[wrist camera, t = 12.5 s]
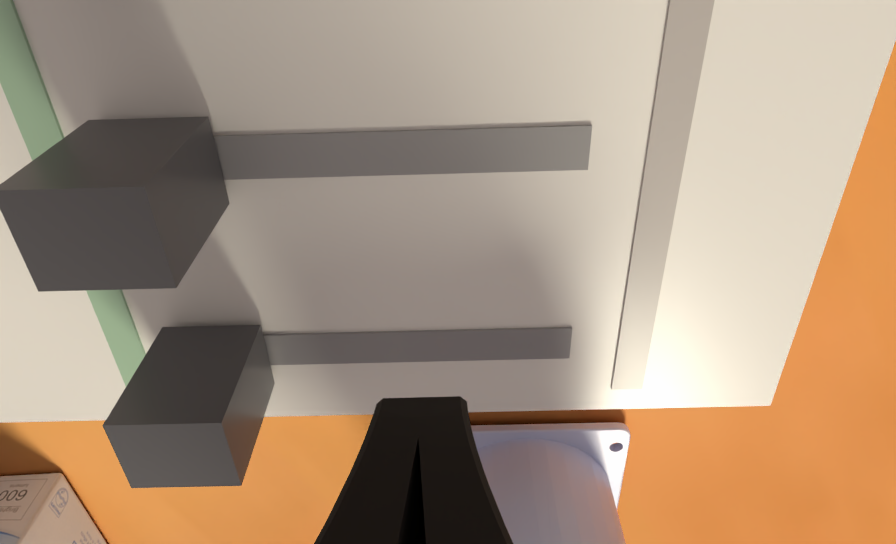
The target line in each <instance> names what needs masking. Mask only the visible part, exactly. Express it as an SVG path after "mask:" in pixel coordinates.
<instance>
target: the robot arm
mask: <svg viewBox="0 0 896 544" xmlns="http://www.w3.org/2000/svg"><path fill="white" fill-rule="evenodd" d="M629 442H630V432H629V429H628V427H627V426H626V425H625V424H623V423H619V422H606V423H560V424H513V425H471V424H470V419H469V414H468V406H467V401H466V400H464V399H463V398H462V397H460V396H453V397H413V398H383V399H382V400H380V401H379V402H378V403H377V404H376V407H375V411H374V414H373V417H372V420H371V423H370V426H369V429H368V431H367V434H366V437H365V439H364V442H363V444H362V447H361V449H360V451H359V454H358V456H357V458H356V461H355V463H354V465H353V467H352V470H351V472H350V474H349V476H348V478H347V480H346V482H345V484H344V487H343V489H342V491H341V493H340V495H339V497H338V499H337V501H336V503H335V505H334V507H333V509H332V511H331V513H330V515H329V517H328V519H327V521H326V523H325V525H324V527H323V529H322V530H321V532H320V534H319V536H318V537H317V539H316V541H315V543H314V544H626V543H625V539H624V535H623V532H622V528H621V524H620V520H619V516H618V512H617V507H618V502H619V497H620V491H621V486H622V480H623V475H624V469H625V464H626V458H627V453H628V447H629ZM613 443H616V444H613Z"/></svg>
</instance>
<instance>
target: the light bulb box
mask: <svg viewBox="0 0 896 544" xmlns="http://www.w3.org/2000/svg"><path fill="white" fill-rule="evenodd" d="M0 544H107V543H106V542H105V540H104V538H103V537H102V535H101V534H100V532H99V530H98V529H97V527H96V526H95V524H94V522H93V521H92V519H91V518H90V516H89V515H88V513H87V512H86V510H85V508H84V507H83V505H82V504H81V502H80V501H79V499H78V498H77V496H76V494H75V493H74V491H73V490H72V488H71V486H70V485H69V483H68V482H67V480H66V478H65V477H64V475H63V474H61V473H48V474H32V475H13V476H0Z"/></svg>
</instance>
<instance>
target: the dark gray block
mask: <svg viewBox="0 0 896 544" xmlns="http://www.w3.org/2000/svg"><path fill="white" fill-rule="evenodd" d="M229 204H230V203H229V199H228V194H227V190H226V186H225V182H224V178H223V174H222V170H221V166H220V161H219V157H218V153H217V149H216V145H215V141H214V137H213V132H212V128H211V124H210V120H209V116H208V117H173V118H139V119H104V120H88V121H86V122H85V123H84V124H82V125H81V126H79V127H78V128H77V129H75V130H74V131H73V132H71V133H70V134H68V135H67V136H66V137H64V138H63V139H62V140H60V141H59V142H58V143H56V144H55V145H53V146H52V147H51V148H49V149H48V150H47V151H45V152H44V153H42V154H41V155H40V156H38V157H37V158H36V159H34V160H33V161H32V162H30V163H29V164H27V165H26V166H25V167H23V168H22V169H21V170H19V171H18V172H17V173H15V174H14V175H12V176H11V177H10V178H8V179H7V180H6V181H4V182H3V183H1V184H0V210H1V212H2V214H3V217H4V219H5V221H6V223H7V225H8V227H9V229H10V232H11V234H12V236H13V238H14V240H15V242H16V245H17V247H18V249H19V251H20V253H21V255H22V257H23V260H24V262H25V264H26V266H27V268H28V270H29V273H30V275H31V277H32V279H33V281H34V283H35V285H36V288H37V290H38V292H43V291H83V290H123V289H163V288H177V286H178V285H179V283H180V282H181V280H182V278H183V277H184V275H185V274H186V272H187V271H188V269H189V267H190V266H191V264H192V263H193V261H194V259H195V258H196V256H197V255H198V253H199V251H200V250H201V248H202V247H203V245H204V244H205V242H206V240H207V239H208V237H209V236H210V234H211V232H212V231H213V229H214V228H215V226H216V224H217V223H218V221H219V220H220V218H221V216H222V215H223V213H224V212H225V210H226V209H227V207H228V205H229Z"/></svg>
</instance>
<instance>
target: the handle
mask: <svg viewBox="0 0 896 544" xmlns="http://www.w3.org/2000/svg"><path fill="white" fill-rule="evenodd" d="M274 384H275V382H274V378H273V374H272V370H271V365H270V361H269V357H268V353H267V349H266V345H265V340H264V336H263V332H262V328H261V325H226V326H184V327H162V329H161V330H160V332H159V334H158V335H157V337H156V338H155V340H154V342H153V343H152V345H151V347H150V348H149V350H148V352H147V353H146V355H145V357H144V358H143V360H142V362H141V363H140V365H139V366H138V368H137V370H136V371H135V373H134V375H133V376H132V378H131V380H130V381H129V383H128V385H127V386H126V388H125V390H124V391H123V393H122V395H121V396H120V398H119V399H118V401H117V403H116V404H115V406H114V408H113V409H112V411H111V413H110V414H109V416H108V418H107V419H106V421H105V423H104V424H103V427H104V430H105V432H106V434H107V436H108V438H109V440H110V443H111V445H112V447H113V449H114V451H115V453H116V455H117V458H118V460H119V462H120V464H121V466H122V468H123V471H124V473H125V475H126V477H127V479H128V481H129V484H130V486H131V488H151V487H200V486H241V485H242V482H243V479H244V476H245V473H246V470H247V467H248V464H249V461H250V458H251V455H252V451H253V448H254V445H255V442H256V439H257V436H258V433H259V430H260V427H261V424H262V421H263V418H264V415H265V412H266V409H267V406H268V403H269V400H270V397H271V393H272V390H273V387H274Z"/></svg>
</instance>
